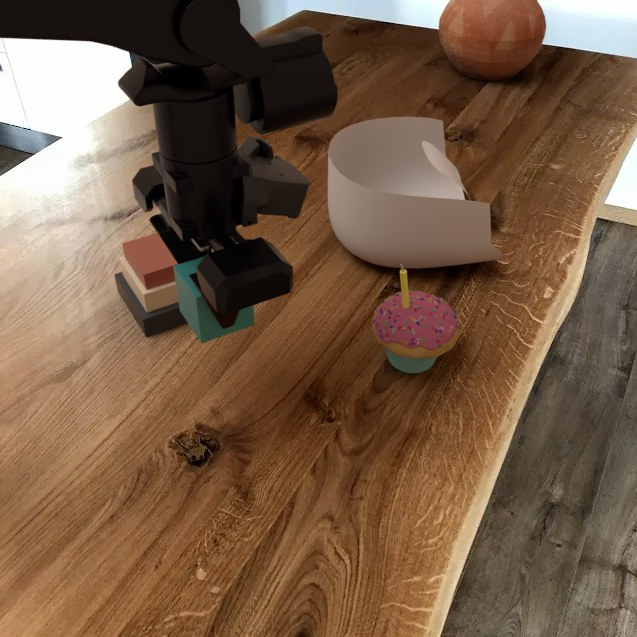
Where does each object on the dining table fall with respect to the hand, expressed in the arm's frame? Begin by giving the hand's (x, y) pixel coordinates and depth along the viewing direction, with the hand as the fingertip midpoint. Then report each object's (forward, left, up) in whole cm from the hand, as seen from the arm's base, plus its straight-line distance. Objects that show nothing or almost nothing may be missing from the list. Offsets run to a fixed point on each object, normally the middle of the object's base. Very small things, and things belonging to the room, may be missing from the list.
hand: (215, 309), depth 64 cm
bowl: (+31, +13, -11) cm, 35 cm away
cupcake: (+19, -5, -11) cm, 22 cm away
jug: (+76, +50, -11) cm, 92 cm away
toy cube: (0, 0, -1) cm, 1 cm away
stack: (+1, +16, -11) cm, 20 cm away
